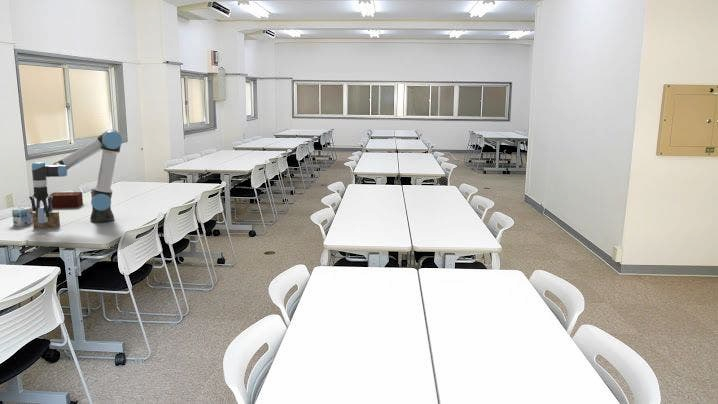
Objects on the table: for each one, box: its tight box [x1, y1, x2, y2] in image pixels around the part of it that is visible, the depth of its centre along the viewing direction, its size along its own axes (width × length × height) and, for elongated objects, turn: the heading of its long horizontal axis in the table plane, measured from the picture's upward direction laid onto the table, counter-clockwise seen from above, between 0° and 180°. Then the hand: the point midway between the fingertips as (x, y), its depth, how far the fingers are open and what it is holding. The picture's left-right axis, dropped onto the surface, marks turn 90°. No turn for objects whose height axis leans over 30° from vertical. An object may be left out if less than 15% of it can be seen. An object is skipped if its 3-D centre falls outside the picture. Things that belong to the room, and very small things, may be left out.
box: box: [48, 191, 84, 209], centre depth 412 cm, size 21×16×10 cm
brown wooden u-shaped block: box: [32, 211, 61, 229], centre depth 346 cm, size 15×3×10 cm, turn 99°
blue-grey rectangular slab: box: [38, 203, 53, 223], centre depth 345 cm, size 14×3×10 cm, turn 9°
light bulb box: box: [11, 206, 34, 227], centre depth 352 cm, size 11×7×11 cm, turn 168°
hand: (43, 221), depth 341 cm, fingers closed on blue-grey rectangular slab, 3 cm apart
